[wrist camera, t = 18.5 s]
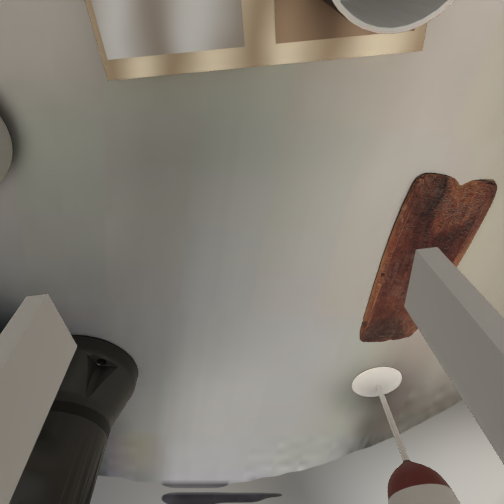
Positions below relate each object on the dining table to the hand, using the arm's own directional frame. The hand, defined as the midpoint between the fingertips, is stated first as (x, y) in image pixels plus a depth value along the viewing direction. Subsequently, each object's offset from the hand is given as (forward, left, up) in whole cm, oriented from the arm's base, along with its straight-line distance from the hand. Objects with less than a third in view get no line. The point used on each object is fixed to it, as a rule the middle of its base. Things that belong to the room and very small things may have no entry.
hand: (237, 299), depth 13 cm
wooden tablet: (+21, -21, -25) cm, 39 cm away
